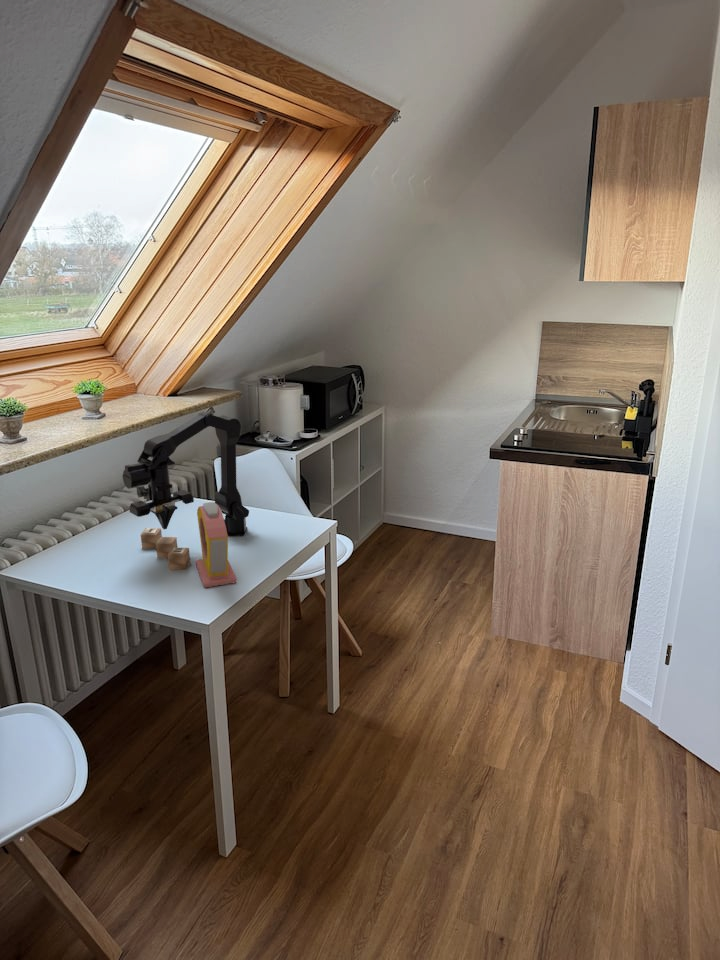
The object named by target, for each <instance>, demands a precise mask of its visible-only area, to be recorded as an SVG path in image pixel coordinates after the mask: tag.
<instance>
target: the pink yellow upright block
mask: <svg viewBox="0 0 720 960" xmlns="http://www.w3.org/2000/svg"><path fill="white" fill-rule="evenodd" d="M196 511H197V513H196V515H197V521H198V522H197V523H198V524H197V525H198V531H199V539H200V546H201V547H200V548H201V556H202V558H200V559H197V560H195V565H196V568H197V569H196V570H197V571H198V574H199V577H200V580H201V583H202V586H203V588H205V589H207V588H206V587H209V588H213V587H212V586H215V587H218V586H217V585H221V586H224V585H223V584H227V585H229V584H228V583H233V582H236V581H237V582H238V579H237V577H236V574H235V572H234V570H233V568H232V565H231V563H230V562H229V558H228V557H229V552H228V551H229V550H228V548H229V543H228V542H229V541H228V540H229V536H228V535H227V530H226V525H225V521H224V519H225V517H224V515H223V513H222V511H221V509H220V507H219V506H218V505H217V504H216V503H215V501H214V502H213V501H212V502H211V501H210V502H204V503H202V505H200V506H198V508H197V510H196ZM237 582H236V583H237ZM233 584H234V583H233Z"/></svg>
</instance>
